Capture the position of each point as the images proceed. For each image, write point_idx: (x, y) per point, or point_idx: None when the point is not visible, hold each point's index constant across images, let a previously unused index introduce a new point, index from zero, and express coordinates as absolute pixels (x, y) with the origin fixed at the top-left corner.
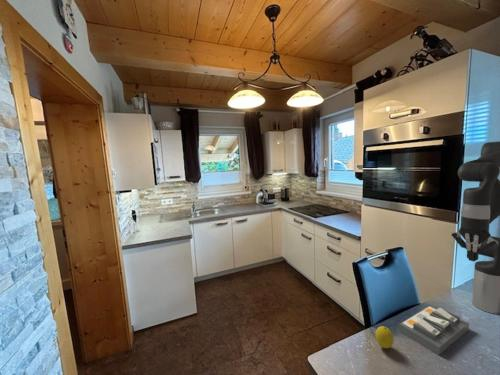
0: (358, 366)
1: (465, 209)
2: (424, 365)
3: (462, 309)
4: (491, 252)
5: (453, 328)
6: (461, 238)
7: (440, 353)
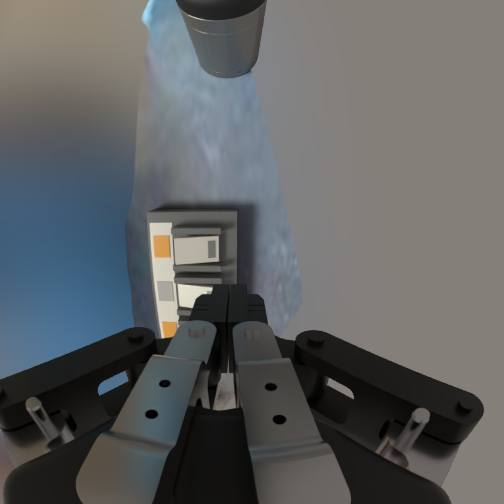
0: None
1: None
2: None
3: (194, 116)
4: None
5: (225, 272)
6: (73, 393)
7: None
